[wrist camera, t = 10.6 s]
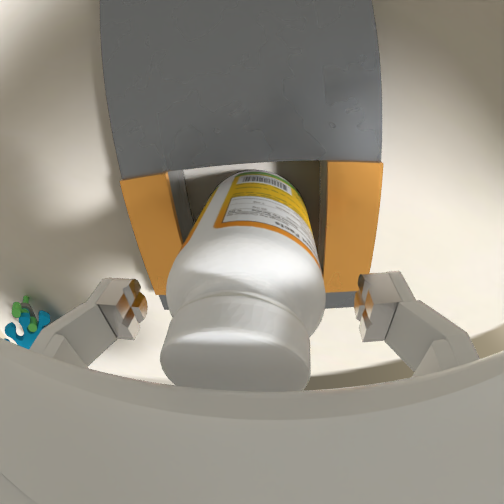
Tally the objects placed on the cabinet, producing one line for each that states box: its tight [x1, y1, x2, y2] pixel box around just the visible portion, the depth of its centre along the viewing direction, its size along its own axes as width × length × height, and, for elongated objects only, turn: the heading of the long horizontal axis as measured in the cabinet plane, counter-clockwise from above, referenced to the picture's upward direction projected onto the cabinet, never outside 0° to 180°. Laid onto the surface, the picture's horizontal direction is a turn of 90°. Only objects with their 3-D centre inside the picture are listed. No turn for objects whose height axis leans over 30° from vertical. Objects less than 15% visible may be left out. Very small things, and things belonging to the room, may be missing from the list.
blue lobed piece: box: [4, 296, 50, 349], centre depth 21 cm, size 11×6×10 cm
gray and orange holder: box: [100, 0, 383, 310], centre depth 9 cm, size 12×26×2 cm, turn 5°
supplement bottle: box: [160, 170, 326, 392], centre depth 11 cm, size 5×5×10 cm
